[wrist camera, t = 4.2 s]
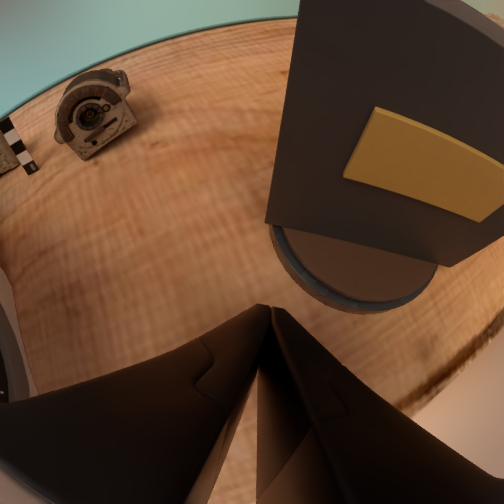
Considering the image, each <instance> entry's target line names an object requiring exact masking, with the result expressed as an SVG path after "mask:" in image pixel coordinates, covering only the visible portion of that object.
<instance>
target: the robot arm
mask: <svg viewBox="0 0 504 504" xmlns="http://www.w3.org/2000/svg"><path fill="white" fill-rule="evenodd" d="M257 370H258V396H257V479H256V499H257V500H256V504H504V479H500V478H496V477H493V476H492V475H490V474H488V473H487V472H485V471H484V470H482V469H480V468H479V467H478V466H476V465H475V464H473V463H472V462H470V461H469V460H467V459H466V458H464V457H463V456H462V455H460V454H459V453H457V452H456V451H454V450H453V449H451V448H450V447H449V446H447V445H446V444H444V443H443V442H442V441H440V440H439V439H437V438H436V437H435V436H433V435H432V434H430V433H429V432H428V431H426V430H425V429H423V428H422V427H421V426H419V425H418V424H417V423H415V422H414V421H413V420H411V419H410V418H408V417H407V416H406V415H404V414H403V413H402V412H400V411H399V410H398V409H396V408H395V407H394V406H392V405H391V404H390V403H388V402H387V401H386V400H384V399H383V398H382V397H380V396H379V395H378V394H377V393H375V392H374V391H373V390H371V389H370V388H369V387H368V386H366V385H365V384H364V383H363V382H362V381H361V380H360V379H358V378H357V377H356V376H355V375H354V374H353V373H352V372H351V371H350V370H348V369H347V368H346V367H345V366H344V365H343V366H342V364H341V363H340V362H339V361H338V360H337V359H336V358H335V357H334V356H333V355H332V354H331V353H330V352H329V351H328V350H327V349H326V348H325V347H323V346H322V345H321V344H320V343H319V342H318V341H317V340H316V339H315V338H314V337H313V336H312V335H311V334H310V333H309V332H308V331H307V330H306V329H305V328H304V327H303V326H302V325H301V324H300V323H298V322H297V321H296V320H295V319H294V318H293V317H292V316H291V315H290V314H289V313H288V312H287V311H286V310H285V309H283V308H278V307H271V308H270V306H268V305H264V304H255V305H254V306H252V307H250V308H249V309H247V310H245V311H244V312H242V313H240V314H238V315H237V316H235V317H233V318H232V319H230V320H228V321H226V322H225V323H223V324H221V325H219V326H218V327H216V328H214V329H212V330H211V331H209V332H207V333H205V334H204V335H202V336H200V337H198V338H195V339H194V340H192V341H190V342H188V343H186V344H184V345H182V346H180V347H178V348H176V349H174V350H172V351H169V352H167V353H165V354H162V355H160V356H157V357H154V358H152V359H149V360H146V361H144V362H141V363H138V364H135V365H132V366H130V367H127V368H124V369H121V370H118V371H115V372H112V373H109V374H106V375H103V376H100V377H97V378H94V379H91V380H88V381H85V382H81V383H78V384H75V385H72V386H68V387H65V388H62V389H58V390H55V391H51V392H48V393H44V394H41V395H37V396H34V397H30V398H26V399H22V400H18V401H14V402H9V403H0V504H207V502H208V499H209V497H210V495H211V491H212V490H213V487H214V485H215V483H216V480H217V478H218V475H219V473H220V470H221V468H222V465H223V463H224V460H225V458H226V455H227V453H228V450H229V447H230V445H231V442H232V440H233V437H234V434H235V432H236V429H237V426H238V424H239V421H240V418H241V416H242V413H243V410H244V408H245V405H246V402H247V399H248V397H249V394H250V391H251V388H252V385H253V383H254V380H255V377H256V374H257Z"/></svg>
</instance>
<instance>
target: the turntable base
mask: <svg viewBox="0 0 504 504" xmlns="http://www.w3.org/2000/svg"><path fill="white" fill-rule="evenodd" d="M269 229H270V235H271V239H272V242H273V246H274V248H275V251H276V253H277V255H278V258H279V259H280V261H281V263H282V265H283V266H284V268H285V270H286V271H287V272H288V273H289V275H290V276H291V277H292V279H293V280H294V281H295V282H296V283H297V284H298V285H299V286H300V287H301V288H302V289H303V290H304V291H306V292H307V293H308V294H310V295H311V296H312V297H313V298H315V299H317V300H318V301H320V302H322V303H323V304H325V305H327V306H330V307H332V308H334V309H337V310H340V311H344V312H347V313H352V314H361V315H367V314H378V313H383V312H387V311H389V310H392V309H395V308H397V307H400V306H402V305H405V304H406V303H408V302H410V301H412V300H413V299H415V298H416V297H417V296H418V295H419V294H421V293H422V292H423V290H424V289H425V288H426V287H427V286H428V284H429V283H430V281H431V280H432V278H433V276H434V274H435V272H436V269H437V267H438V264H437V267H436V269H435V270H434V272H433V274H432V275H431V277H430V278H429V279H428V280H427V282H426V283H425V284H424V285H422V286H421V287H420V288H419V289H418V290H416V291H415V292H413V293H411V294H409V295H407V296H405V297H403V298H400V299H397V300H393V301H388V302H375V303H374V302H365V301H359V300H356V299H352V298H349V297H346V296H344V295H342V294H339V293H337V292H335V291H334V290H332V289H330V288H328V287H327V286H325V285H324V284H323V283H321V282H320V281H319V280H317V279H316V278H315V277H314V276H313V275H312V274H311V273H310V272H309V271H308V270H307V269H305V267H304V266H303V265H302V264H301V262H300V261H299V260H298V259H297V257H296V256H295V254H294V253H293V251H292V249H291V248H290V246H289V244H288V242H287V240H286V237H285V235H284V232H283V229H282V226H277V225H272V224H269Z"/></svg>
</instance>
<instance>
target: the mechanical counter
mask: <svg viewBox="0 0 504 504" xmlns="http://www.w3.org/2000/svg"><path fill="white" fill-rule="evenodd" d="M118 78H121V80H119V79H118ZM129 93H130V86H129V82H128V78H127V75H126V73H125V72H124V71H123V70H118V71H114V72H113V71H112V70H111V69H108V68H107V69H101V70H94V71H89V72H86V73H83V74H81V75H79V76H78V77H76V78H75V79H74V80H73V81H72V82H71V83H70V84H69V85H68V87H67V88H66V90H65V92H64V94H63V96H62V98H61V100H60V102H59V104H58V106H57V110H56V114H55V125H56V131H55V134H54V138H55V140H56V141H57V142H58V143H59V144H63V143H67V144H68V145H69V146H70V147H71V148H72V149H73V150H74V151H75V153H76V154H77V155H78V156H79V157H80V158H81V159H82V160H86V159H87V158H88V157H90V156H91V155H92V154H93V153H95V152H96V151H97V150H99V149H100V148H101V147H103V146H104V145H105V144H107V143H108V142H110V141H111V140H112V139H114V138H115V137H117V136H118V135H120V134H121V133H123V132H124V131H126V130H127V129H129V128H130V127H132V126H133V125H135V124H136V123H137V121H138V120H137V119H136V117H135V115H134V113H133V111H132V110H131V108H130V107H129V105H128V103H127V102H126V100H125V98H126V96H127V95H128V94H129Z"/></svg>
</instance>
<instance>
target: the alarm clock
mask: <svg viewBox="0 0 504 504" xmlns="http://www.w3.org/2000/svg"><path fill="white" fill-rule="evenodd" d="M37 395H39V394H38V391H37V389H36V386H35V383H34V380H33V377H32V373H31V370H30V367H29V364H28V360H27V356H26V353H25V349H24V345H23V341H22V337H21V333H20V328H19V323H18V318H17V313H16V308H15V302H14V296H13V290H12V286H11V284H10V283H9V281H8V279H7V277H6V275H5V273H4V271H3V270H2V268H1V267H0V403H9V402H14V401H18V400H22V399H26V398H30V397H34V396H37Z"/></svg>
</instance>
